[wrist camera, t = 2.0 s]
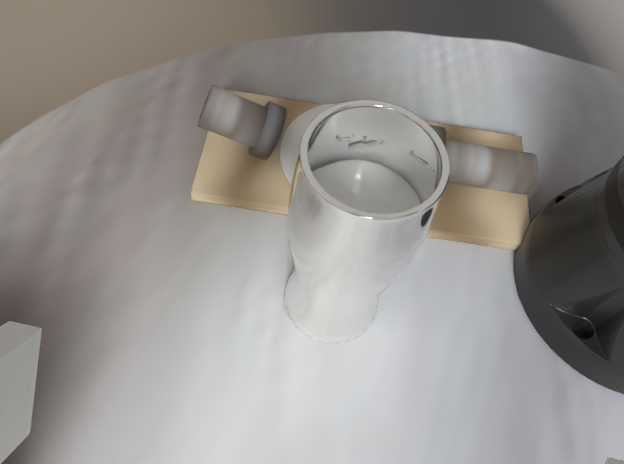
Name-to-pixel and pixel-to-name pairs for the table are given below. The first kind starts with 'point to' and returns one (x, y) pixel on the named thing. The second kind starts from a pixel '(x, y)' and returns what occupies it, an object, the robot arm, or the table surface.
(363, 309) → the beer glass
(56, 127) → the table surface
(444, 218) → the shaft cradle
